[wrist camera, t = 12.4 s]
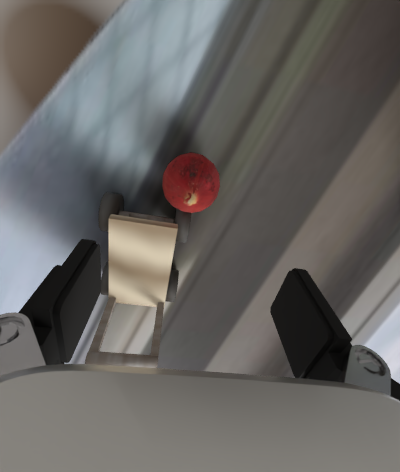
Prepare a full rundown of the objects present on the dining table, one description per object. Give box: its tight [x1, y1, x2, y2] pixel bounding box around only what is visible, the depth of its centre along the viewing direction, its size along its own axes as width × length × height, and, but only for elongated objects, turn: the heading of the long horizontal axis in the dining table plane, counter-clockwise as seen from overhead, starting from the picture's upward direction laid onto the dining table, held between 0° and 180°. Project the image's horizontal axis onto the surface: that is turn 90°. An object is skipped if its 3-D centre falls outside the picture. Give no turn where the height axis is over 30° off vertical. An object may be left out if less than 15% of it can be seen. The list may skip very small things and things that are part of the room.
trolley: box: [85, 192, 191, 368], centre depth 26 cm, size 14×10×14 cm, turn 169°
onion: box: [163, 152, 220, 213], centre depth 24 cm, size 6×6×8 cm
